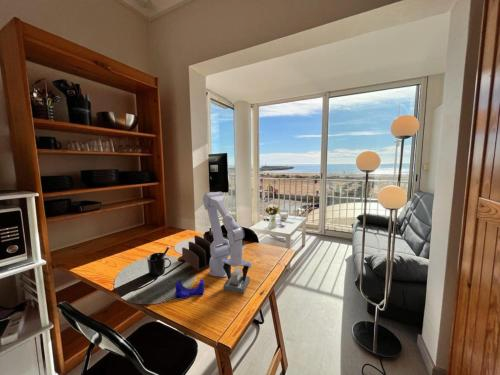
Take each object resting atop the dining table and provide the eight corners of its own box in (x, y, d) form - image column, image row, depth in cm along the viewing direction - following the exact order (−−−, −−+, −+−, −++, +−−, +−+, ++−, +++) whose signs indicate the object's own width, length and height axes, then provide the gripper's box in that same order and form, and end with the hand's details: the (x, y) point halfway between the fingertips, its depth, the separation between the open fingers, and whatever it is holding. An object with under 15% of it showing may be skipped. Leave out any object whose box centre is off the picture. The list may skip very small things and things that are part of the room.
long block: (231, 288, 98) (231, 274, 97) (235, 280, 104) (235, 267, 103) (237, 289, 97) (237, 275, 96) (241, 281, 103) (241, 268, 102)
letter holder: (196, 254, 135) (195, 233, 133) (213, 264, 121) (212, 242, 119) (182, 259, 129) (180, 237, 127) (198, 271, 114) (197, 247, 112)
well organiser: (223, 290, 97) (223, 285, 97) (231, 278, 107) (230, 274, 107) (243, 293, 95) (243, 288, 94) (249, 281, 104) (249, 276, 104)
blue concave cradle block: (175, 299, 92) (174, 286, 91) (178, 292, 97) (177, 280, 96) (202, 297, 93) (201, 285, 92) (204, 291, 97) (203, 279, 96)
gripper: (218, 254, 97) (219, 281, 98) (248, 258, 93) (249, 286, 95) (224, 248, 103) (225, 273, 105) (252, 251, 99) (252, 277, 101)
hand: (236, 279), depth 100 cm, fingers open, 7 cm apart
